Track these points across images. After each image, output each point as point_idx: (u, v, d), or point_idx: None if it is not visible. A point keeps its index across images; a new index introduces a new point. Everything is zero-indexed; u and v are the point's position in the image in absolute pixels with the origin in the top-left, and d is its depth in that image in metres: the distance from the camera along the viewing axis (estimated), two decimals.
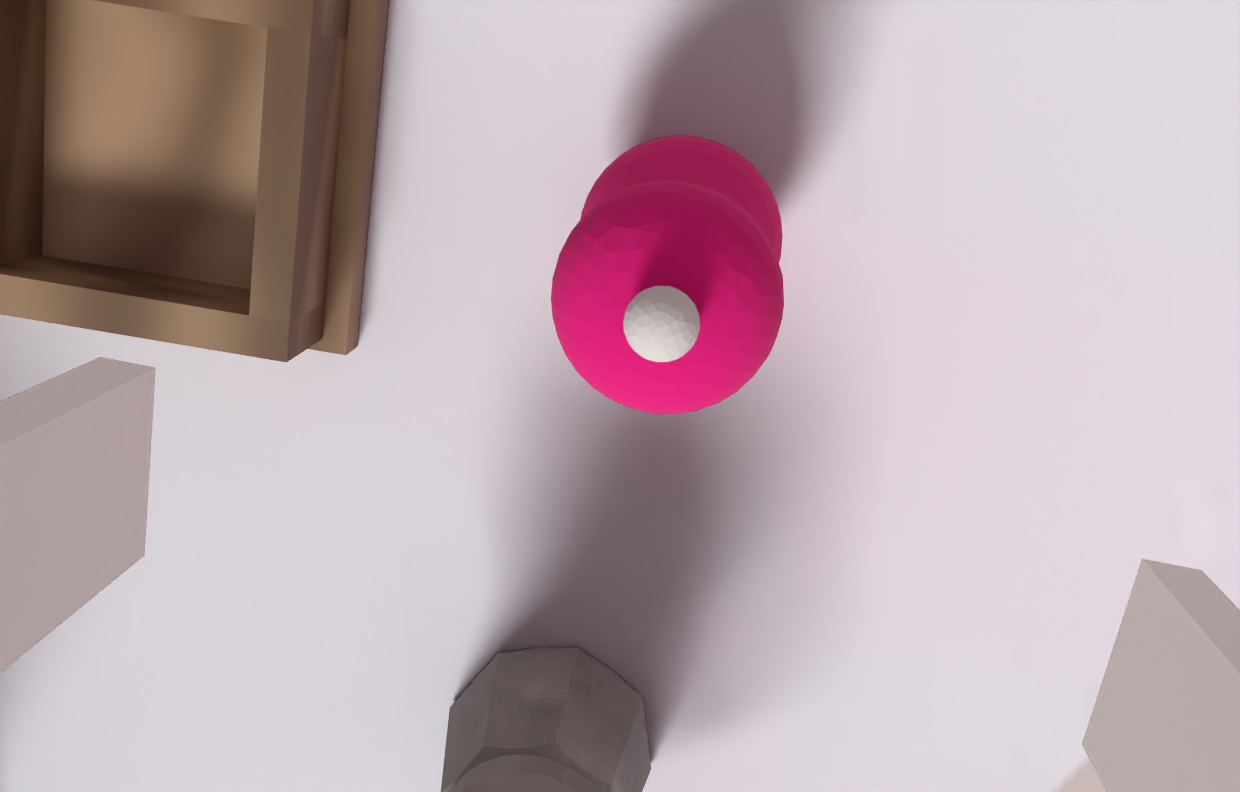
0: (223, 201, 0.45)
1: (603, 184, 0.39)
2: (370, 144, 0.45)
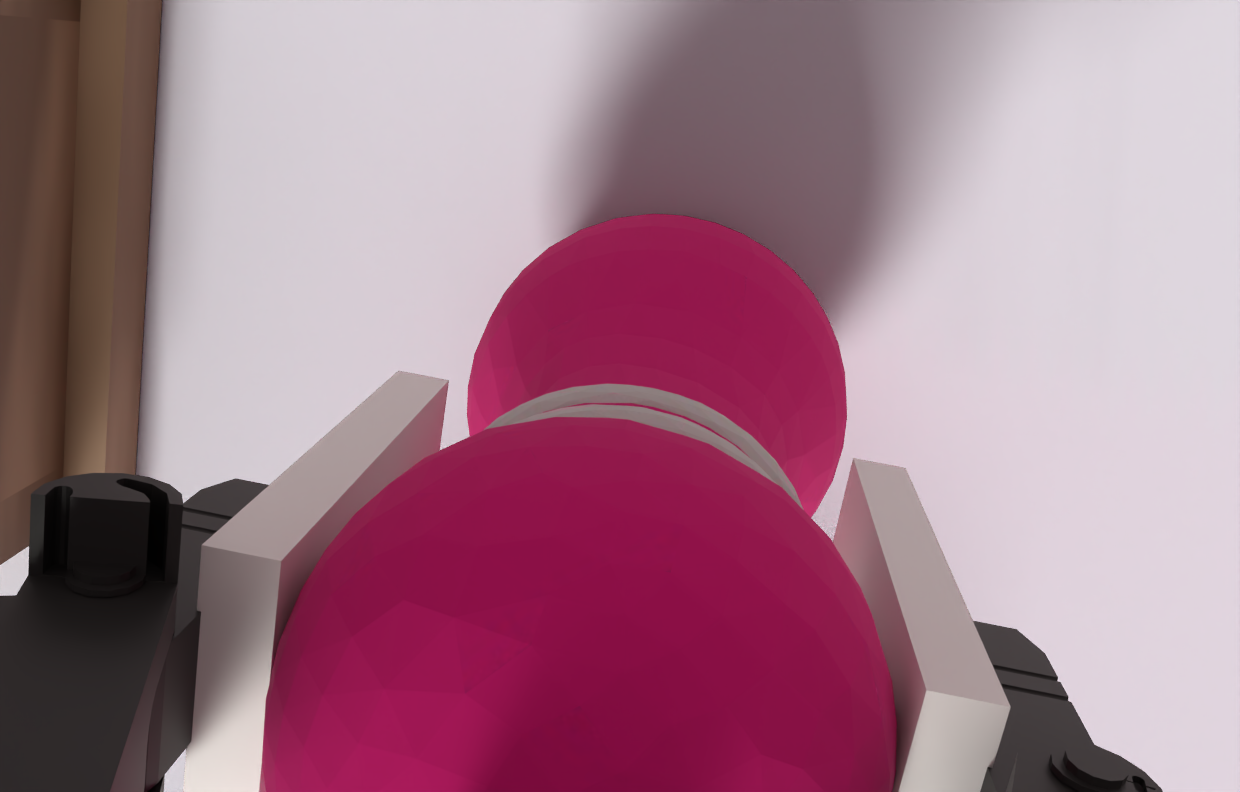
0: None
1: (509, 309, 0.20)
2: (135, 203, 0.26)
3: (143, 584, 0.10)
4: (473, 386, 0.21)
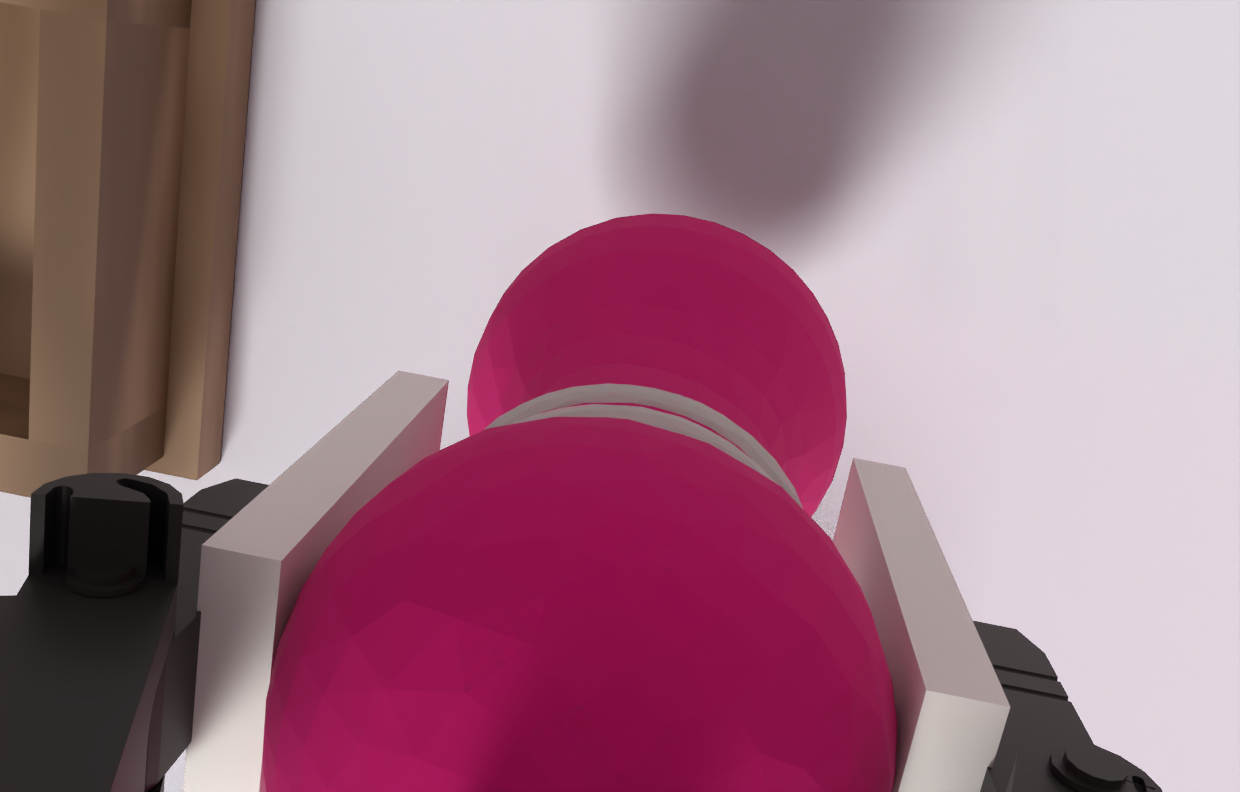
0: (18, 260, 0.31)
1: (509, 309, 0.20)
2: (231, 181, 0.31)
3: (143, 584, 0.10)
4: (473, 386, 0.21)
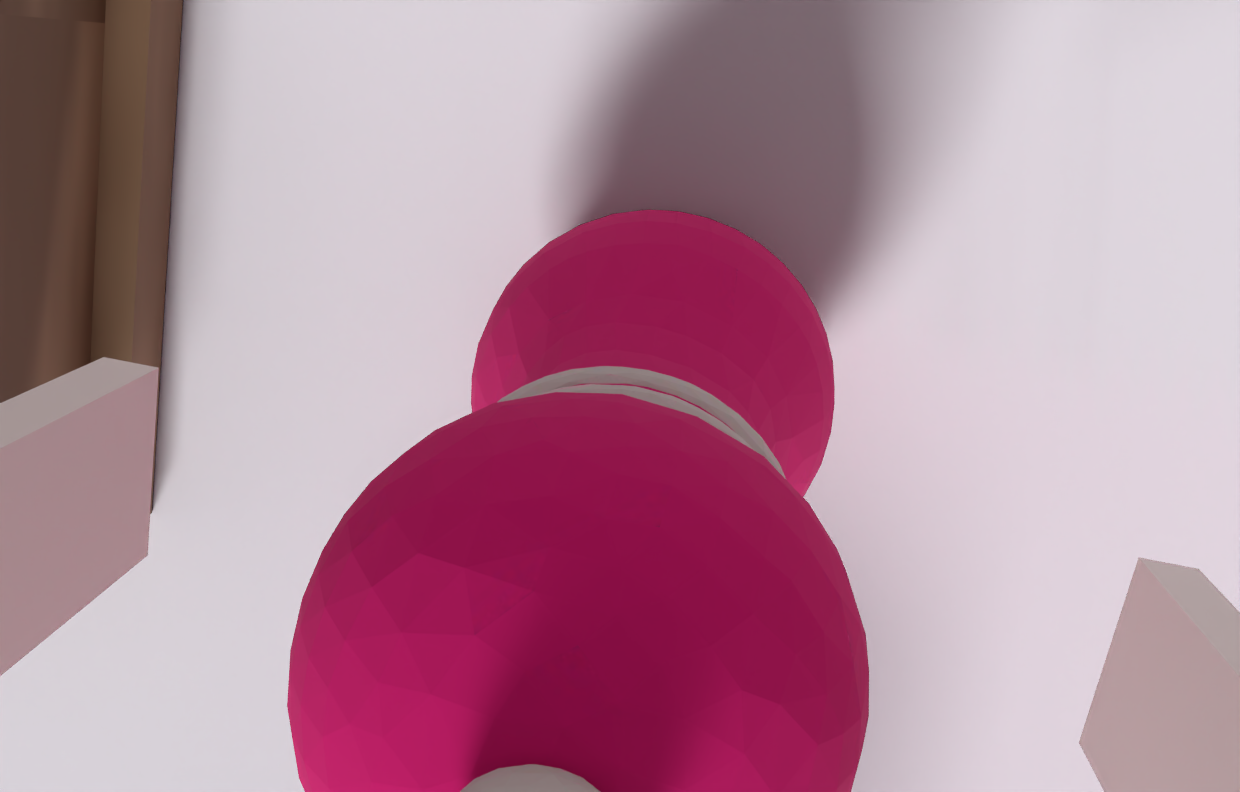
0: None
1: (511, 301, 0.21)
2: (157, 198, 0.27)
3: None
4: (477, 374, 0.22)
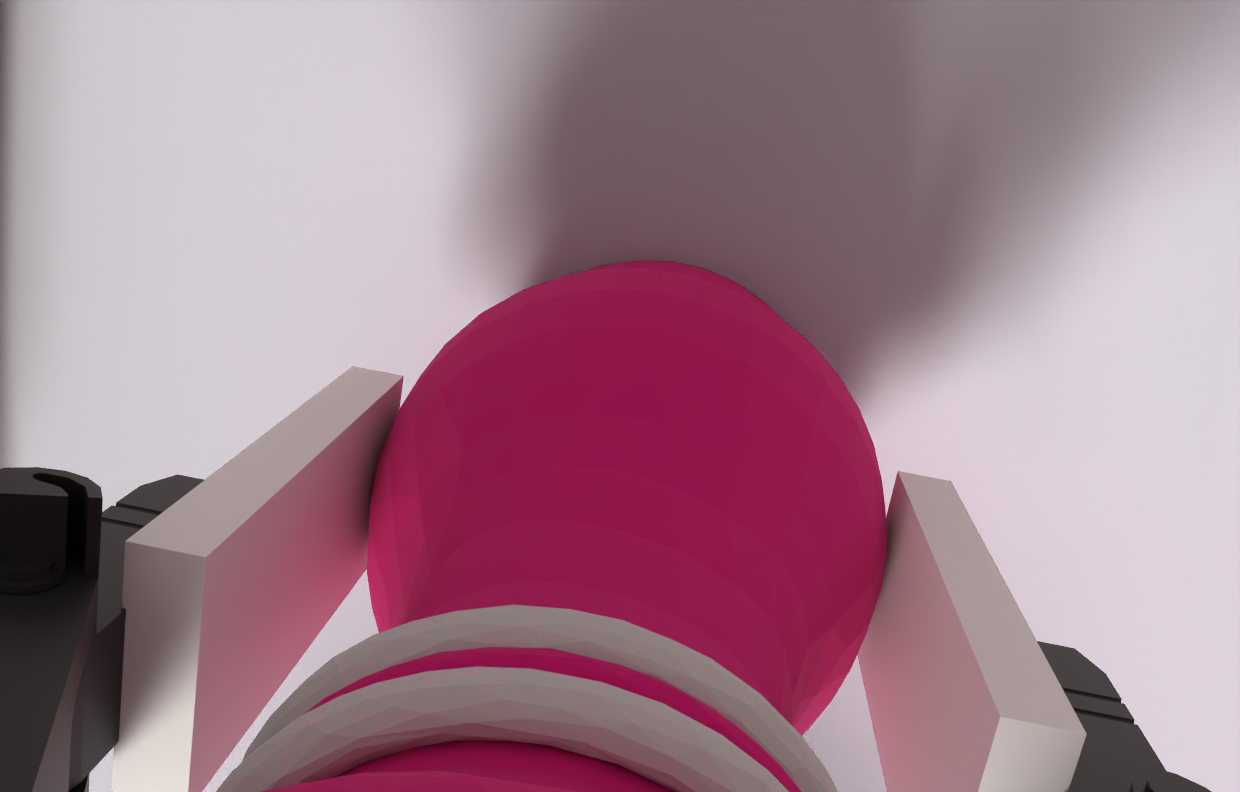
0: None
1: (418, 407, 0.15)
2: None
3: (63, 579, 0.10)
4: (370, 511, 0.15)
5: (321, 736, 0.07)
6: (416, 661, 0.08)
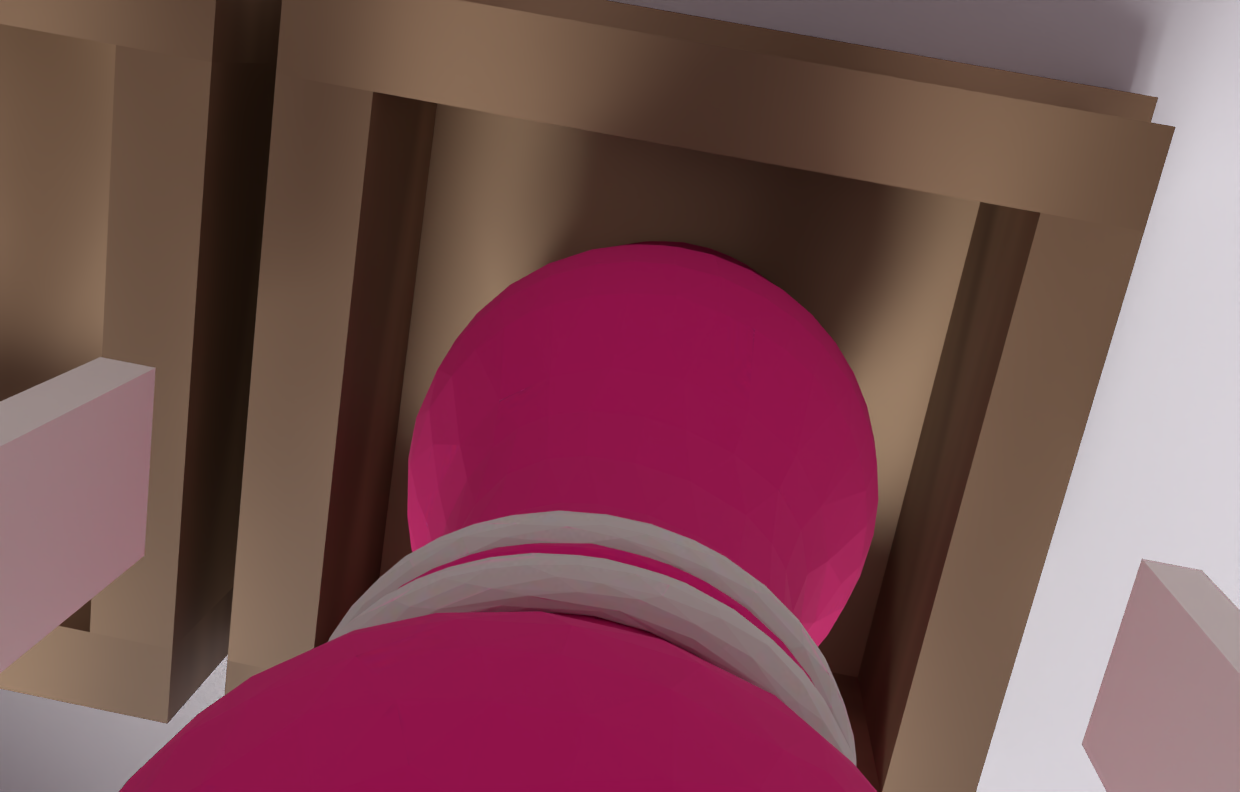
0: None
1: (455, 367, 0.16)
2: None
3: None
4: (411, 461, 0.16)
5: (404, 609, 0.09)
6: (479, 554, 0.10)
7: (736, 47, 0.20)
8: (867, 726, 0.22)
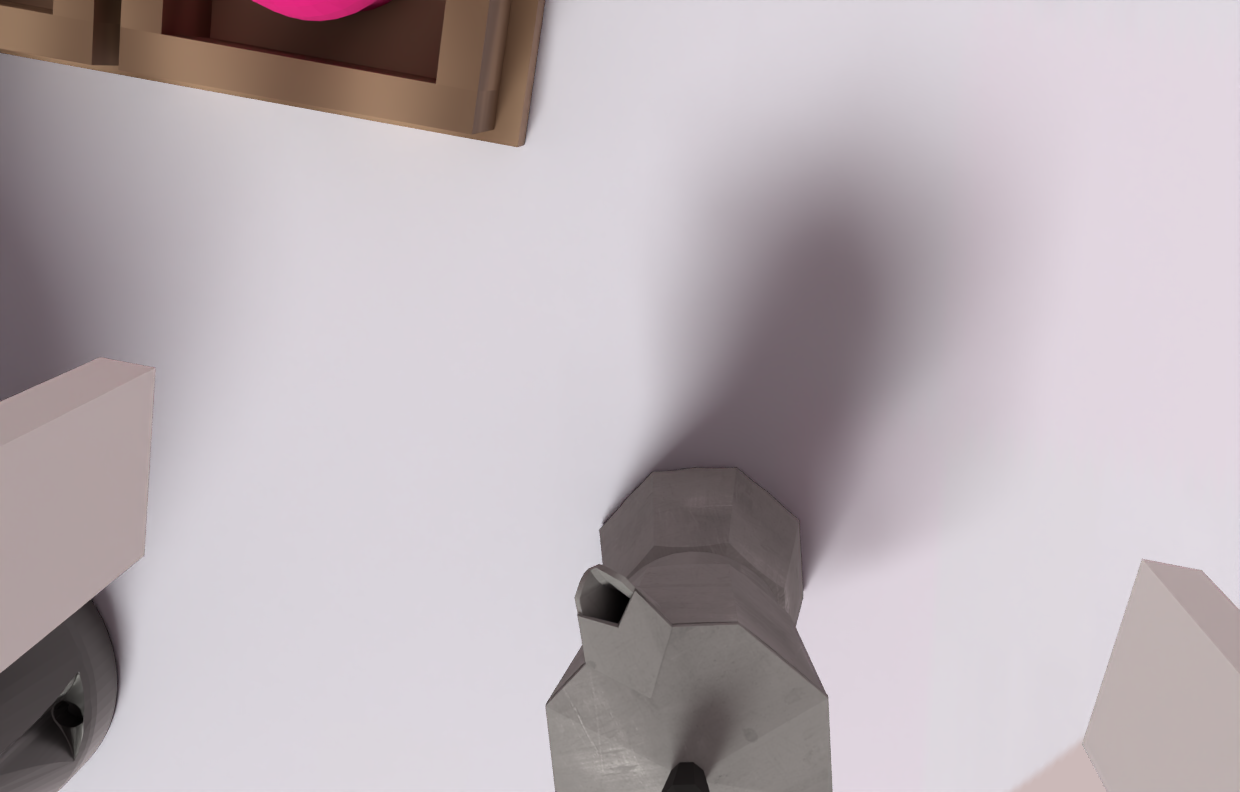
0: None
1: None
2: None
3: None
4: None
5: None
6: None
7: None
8: None
